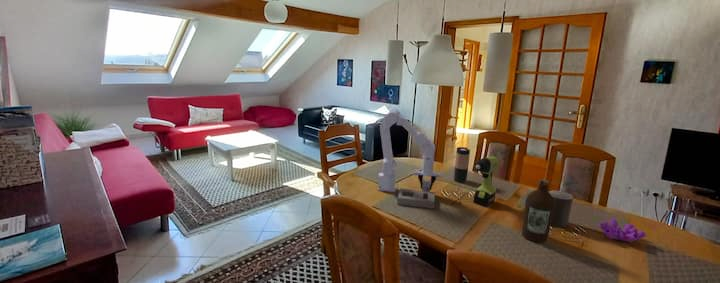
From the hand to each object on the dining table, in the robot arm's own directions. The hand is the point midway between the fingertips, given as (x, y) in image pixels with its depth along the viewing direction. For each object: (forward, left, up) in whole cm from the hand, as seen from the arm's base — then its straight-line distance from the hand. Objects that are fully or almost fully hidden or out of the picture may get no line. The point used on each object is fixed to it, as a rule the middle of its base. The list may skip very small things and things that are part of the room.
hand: (426, 188), depth 172 cm
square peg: (0, 0, -3) cm, 3 cm away
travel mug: (+20, +25, -3) cm, 32 cm away
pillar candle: (+59, -16, -3) cm, 61 cm away
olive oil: (+46, -32, -3) cm, 56 cm away
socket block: (-4, -11, -3) cm, 12 cm away
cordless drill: (+28, -6, -3) cm, 28 cm away
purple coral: (+81, -24, -3) cm, 84 cm away
